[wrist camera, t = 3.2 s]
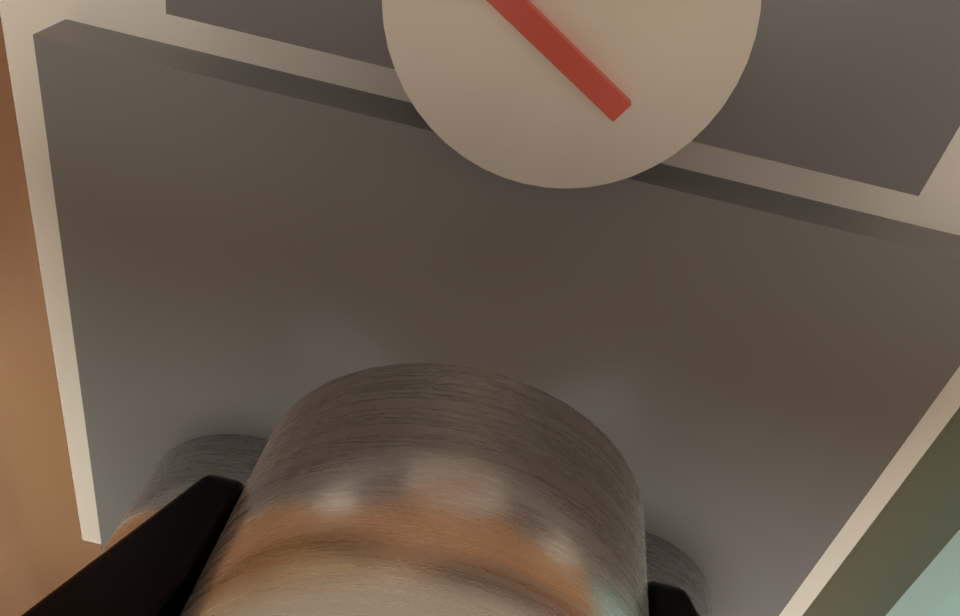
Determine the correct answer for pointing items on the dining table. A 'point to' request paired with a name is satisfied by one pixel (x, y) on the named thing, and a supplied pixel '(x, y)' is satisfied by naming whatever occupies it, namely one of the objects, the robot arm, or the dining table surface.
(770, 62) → the scale
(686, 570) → the cylinder
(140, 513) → the cylinder
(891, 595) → the tray
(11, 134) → the dining table surface
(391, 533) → the cylinder
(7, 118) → the dining table surface
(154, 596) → the robot arm
